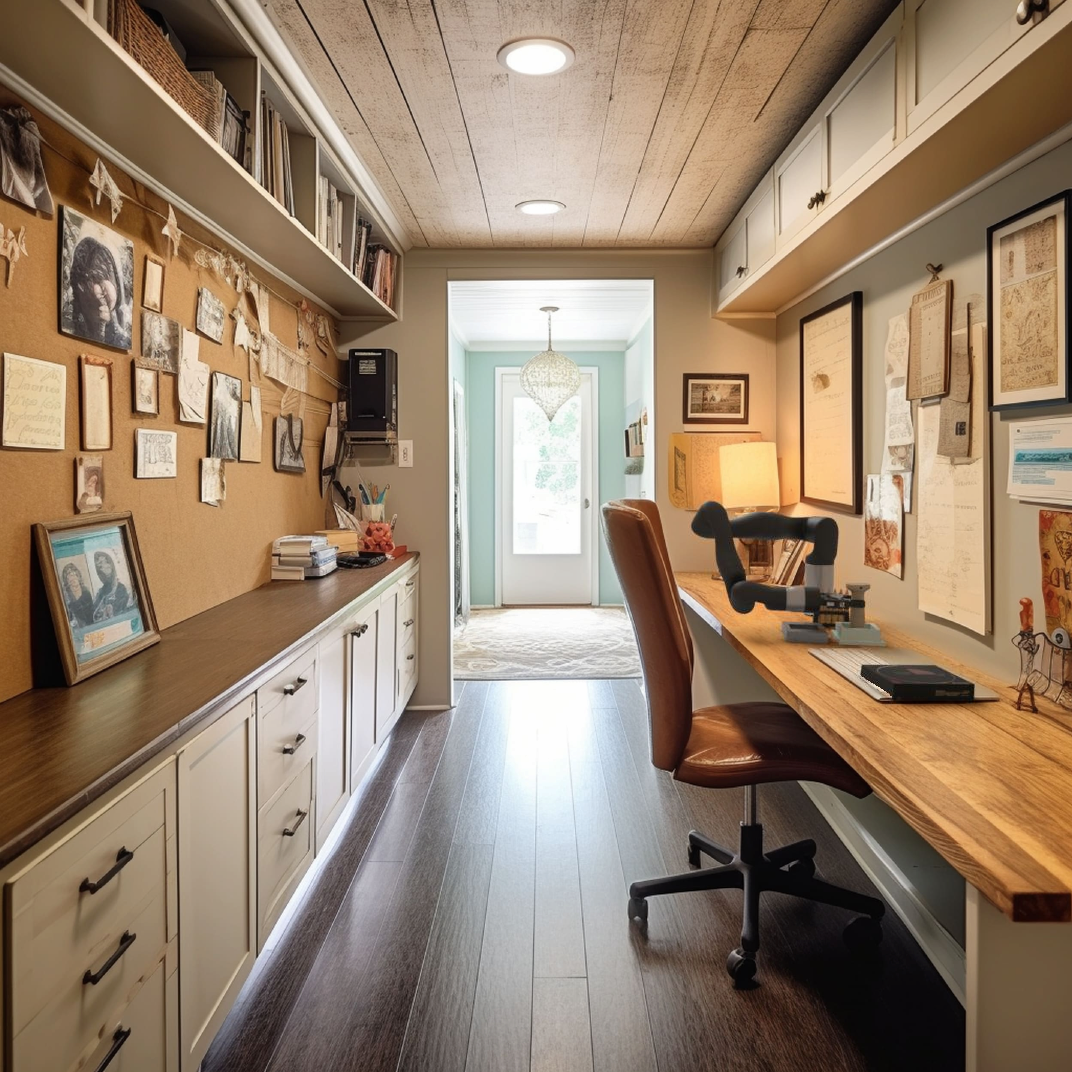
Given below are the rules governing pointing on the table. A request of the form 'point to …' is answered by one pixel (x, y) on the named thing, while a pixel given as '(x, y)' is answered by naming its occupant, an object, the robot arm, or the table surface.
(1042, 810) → the table surface
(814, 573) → the robot arm
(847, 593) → the ammunition clip
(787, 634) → the socket block
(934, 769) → the table surface
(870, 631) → the grey shallow tray
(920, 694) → the portable cd player
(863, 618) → the handle
